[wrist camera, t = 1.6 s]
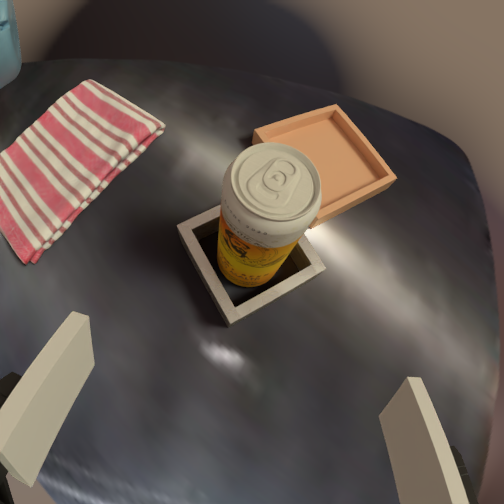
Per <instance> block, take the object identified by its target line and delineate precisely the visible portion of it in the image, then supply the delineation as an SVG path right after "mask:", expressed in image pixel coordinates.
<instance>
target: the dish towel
mask: <svg viewBox="0 0 504 504" xmlns="http://www.w3.org/2000/svg"><path fill="white" fill-rule="evenodd" d="M164 130H165V125H164V123H162V122H161V121H159V120H158V119H156V118H155V117H153V116H152V115H150V114H149V113H147V112H145V111H144V110H142V109H140V108H139V107H137V106H136V105H134V104H132V103H131V102H129V101H128V100H126V99H124V98H123V97H121V96H120V95H118V94H116V93H115V92H113V91H111V90H110V89H108V88H106V87H104V86H103V85H101V84H99V83H97V82H95V81H93V80H86V81H84V82H82V83H81V84H79V85H78V86H77V87H75V88H74V89H72V90H71V91H68V92H67V93H66V94H65V95H64V96H62V97H61V98H59V99H58V100H57V101H56V102H55V103H54V104H53V105H52V106H51V107H49V109H48V110H47V111H46V112H45V113H44V114H43V115H42V116H41V117H40V118H39V119H38V120H36V121H35V122H34V123H33V124H32V125H31V126H30V127H29V128H27V129H26V130H25V131H24V132H23V133H22V134H21V135H20V136H19V137H18V138H17V139H16V141H15V142H14V143H13V144H12V145H11V146H10V147H8V148H7V149H5V150H3V151H2V152H1V153H0V231H1V233H2V234H3V235H4V237H5V238H6V240H7V241H8V242H9V244H10V245H11V247H12V248H13V250H14V251H15V253H16V254H17V256H18V257H19V258H20V259H21V260H22V262H23V263H24V264H25V265H26V264H27V263H28V262H29V261H31V262H32V263H34V264H36V263H37V261H38V260H39V258H40V257H41V255H42V253H43V252H44V251H45V250H46V249H48V248H49V247H50V246H51V245H52V244H53V243H54V241H56V240H57V239H58V238H59V237H61V235H62V234H63V233H64V232H65V230H67V229H68V228H69V226H70V225H71V224H72V222H73V221H74V220H75V218H76V217H77V216H78V215H79V214H80V213H81V212H82V210H84V209H85V208H86V207H87V206H88V205H89V204H90V203H91V202H92V201H93V200H94V199H95V198H96V197H97V196H98V195H99V194H100V193H101V192H102V191H103V189H105V188H106V187H107V186H108V185H109V183H110V182H111V181H112V180H113V179H114V178H115V177H116V176H117V175H118V174H119V173H120V172H121V171H123V170H124V169H125V168H127V166H128V165H129V164H130V163H132V162H133V161H134V160H135V159H136V158H137V157H138V156H139V155H140V154H141V153H143V152H144V151H145V150H146V149H147V147H148V146H149V145H150V144H151V143H152V142H153V141H154V140H155V139H156V138H157V137H158V136H160V135H161V134H162V133H163V132H164Z"/></svg>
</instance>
